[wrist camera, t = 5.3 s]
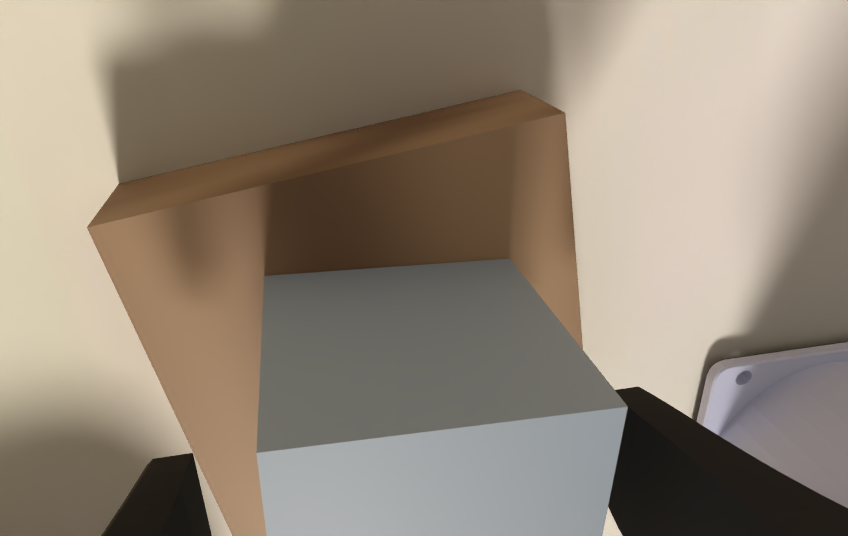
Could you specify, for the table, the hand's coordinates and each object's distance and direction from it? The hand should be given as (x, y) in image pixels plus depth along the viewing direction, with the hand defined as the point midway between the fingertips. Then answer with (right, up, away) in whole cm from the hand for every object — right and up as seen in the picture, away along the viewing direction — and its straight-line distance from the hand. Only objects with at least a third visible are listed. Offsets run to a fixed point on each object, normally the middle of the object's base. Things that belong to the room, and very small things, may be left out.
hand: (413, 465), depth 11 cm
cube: (-1, +1, +3) cm, 3 cm away
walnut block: (-1, +3, +5) cm, 6 cm away
